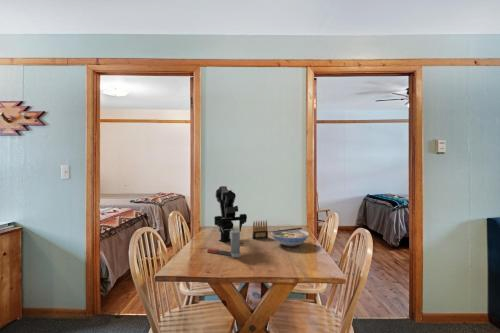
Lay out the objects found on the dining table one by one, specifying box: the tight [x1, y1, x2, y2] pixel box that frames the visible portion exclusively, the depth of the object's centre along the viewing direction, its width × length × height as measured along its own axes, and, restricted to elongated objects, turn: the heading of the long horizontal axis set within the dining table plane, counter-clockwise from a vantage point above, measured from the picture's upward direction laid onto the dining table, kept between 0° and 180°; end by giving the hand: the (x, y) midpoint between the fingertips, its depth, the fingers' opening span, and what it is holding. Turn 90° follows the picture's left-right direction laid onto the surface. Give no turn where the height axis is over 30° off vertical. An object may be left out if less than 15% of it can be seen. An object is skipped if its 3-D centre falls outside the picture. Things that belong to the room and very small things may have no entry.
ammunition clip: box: [251, 219, 269, 240], centre depth 180 cm, size 11×2×12 cm, turn 108°
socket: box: [230, 228, 241, 254], centre depth 142 cm, size 4×4×12 cm
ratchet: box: [207, 247, 241, 259], centre depth 145 cm, size 7×20×5 cm, turn 71°
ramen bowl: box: [269, 227, 310, 248], centre depth 164 cm, size 25×23×8 cm
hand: (232, 232), depth 151 cm, fingers open, 9 cm apart
